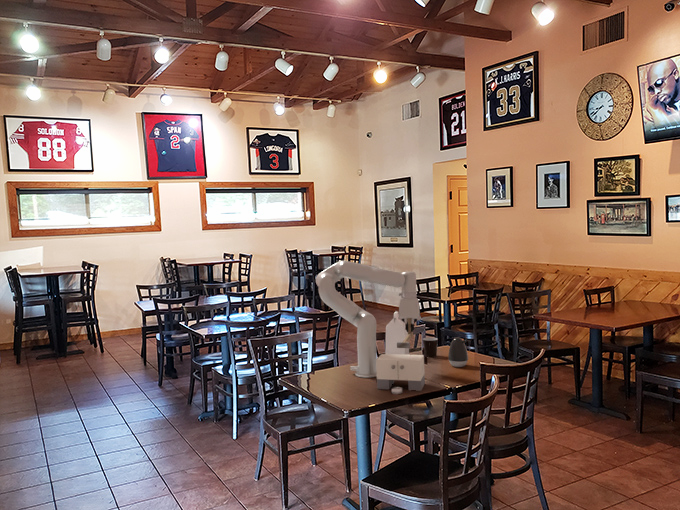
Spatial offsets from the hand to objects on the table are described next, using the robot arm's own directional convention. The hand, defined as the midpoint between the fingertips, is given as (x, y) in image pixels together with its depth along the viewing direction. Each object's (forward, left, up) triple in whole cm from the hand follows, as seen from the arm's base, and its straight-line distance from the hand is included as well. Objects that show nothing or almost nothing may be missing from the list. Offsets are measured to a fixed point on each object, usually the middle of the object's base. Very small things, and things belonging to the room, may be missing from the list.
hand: (409, 331), depth 273 cm
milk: (-13, +31, -21) cm, 40 cm away
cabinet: (0, -29, -21) cm, 35 cm away
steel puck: (0, -39, -21) cm, 44 cm away
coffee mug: (+5, +34, -21) cm, 40 cm away
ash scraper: (0, -8, -4) cm, 9 cm away
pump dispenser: (+23, +14, -21) cm, 34 cm away
